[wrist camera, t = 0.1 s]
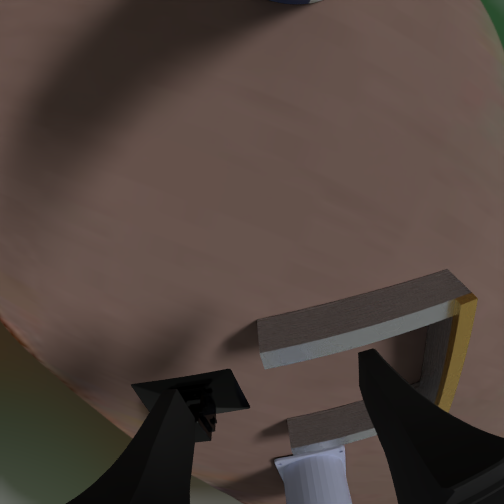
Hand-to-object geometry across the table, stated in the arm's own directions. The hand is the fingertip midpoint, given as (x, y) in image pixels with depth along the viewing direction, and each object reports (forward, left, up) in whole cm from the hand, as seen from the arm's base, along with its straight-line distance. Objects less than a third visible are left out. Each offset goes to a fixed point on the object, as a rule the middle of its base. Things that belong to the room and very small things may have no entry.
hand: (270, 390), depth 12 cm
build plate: (-11, +9, -11) cm, 18 cm away
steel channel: (-11, -6, -10) cm, 16 cm away
